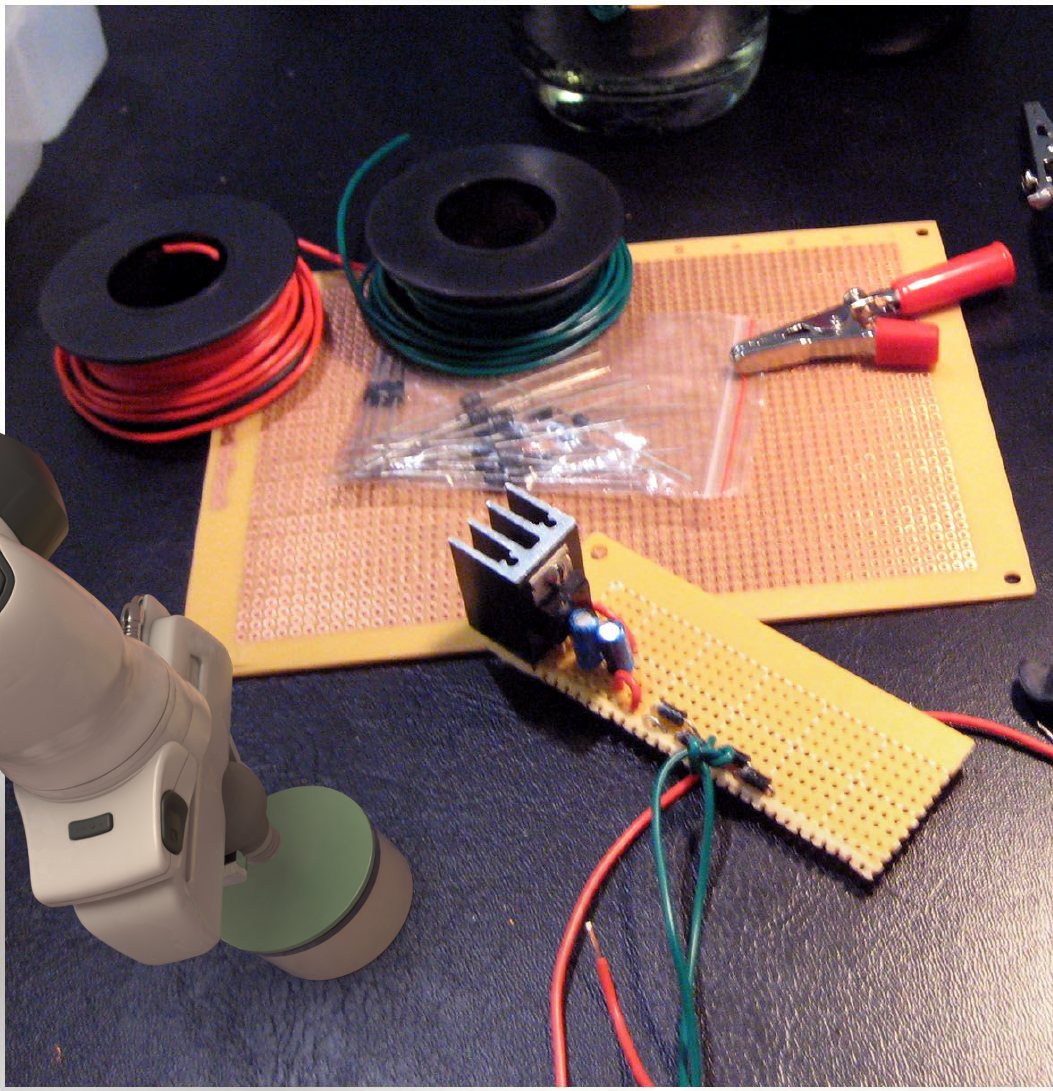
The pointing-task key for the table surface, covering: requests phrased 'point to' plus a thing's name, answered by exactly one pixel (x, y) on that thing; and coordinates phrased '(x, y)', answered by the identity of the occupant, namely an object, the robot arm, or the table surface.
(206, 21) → the table surface
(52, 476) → the robot arm
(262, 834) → the light bulb
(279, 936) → the pot
